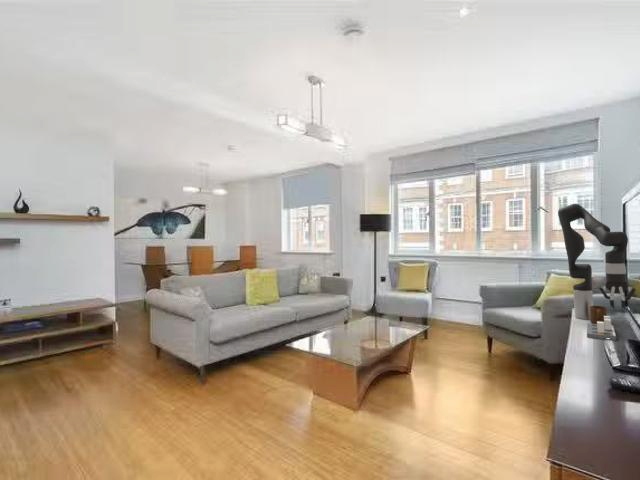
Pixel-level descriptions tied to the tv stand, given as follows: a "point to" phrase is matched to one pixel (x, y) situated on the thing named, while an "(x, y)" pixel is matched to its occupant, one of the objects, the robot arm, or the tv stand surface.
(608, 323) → the block
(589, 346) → the tv stand surface
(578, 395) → the tv stand surface
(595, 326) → the breaker panel
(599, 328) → the block
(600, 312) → the mug
